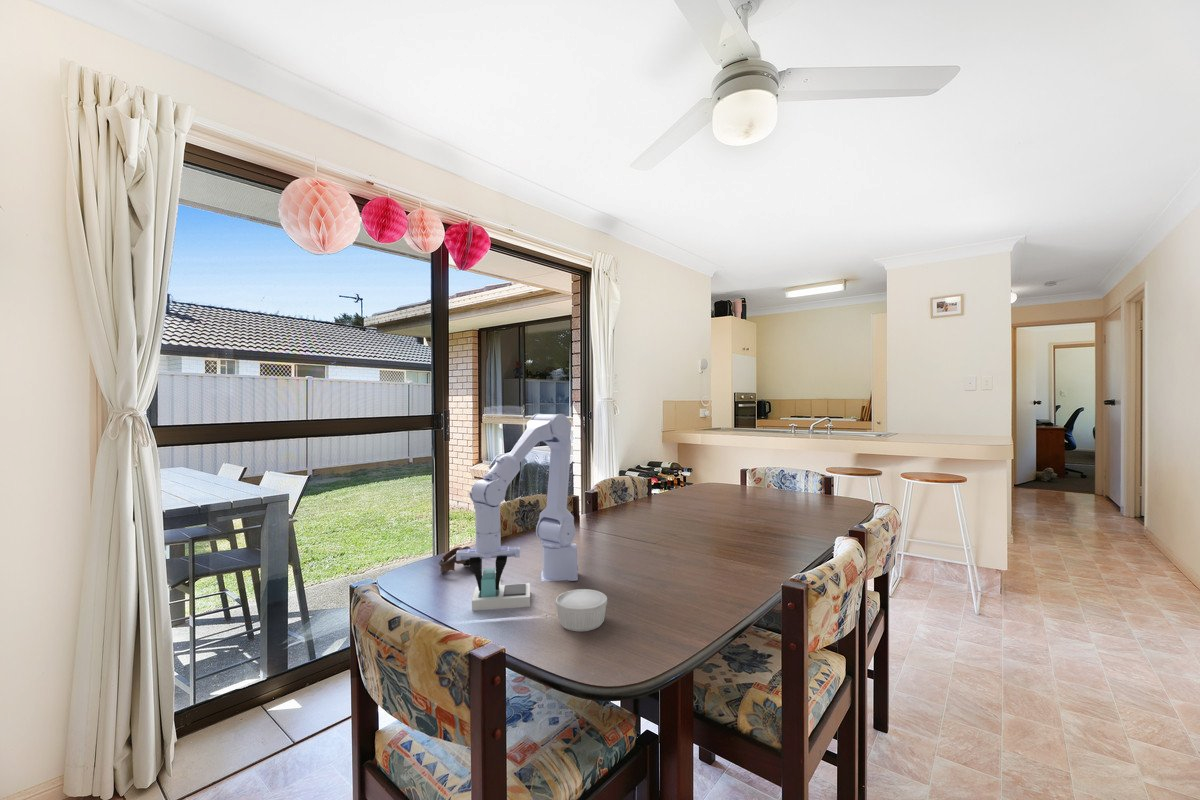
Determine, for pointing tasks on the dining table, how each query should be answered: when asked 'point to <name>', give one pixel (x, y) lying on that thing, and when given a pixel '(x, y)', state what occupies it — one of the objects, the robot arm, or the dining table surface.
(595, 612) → the ramekin
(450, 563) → the brown jagged curved sculpture
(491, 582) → the plug
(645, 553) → the dining table surface
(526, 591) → the panel
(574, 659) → the dining table surface
